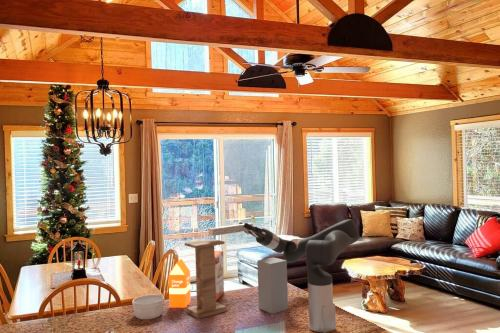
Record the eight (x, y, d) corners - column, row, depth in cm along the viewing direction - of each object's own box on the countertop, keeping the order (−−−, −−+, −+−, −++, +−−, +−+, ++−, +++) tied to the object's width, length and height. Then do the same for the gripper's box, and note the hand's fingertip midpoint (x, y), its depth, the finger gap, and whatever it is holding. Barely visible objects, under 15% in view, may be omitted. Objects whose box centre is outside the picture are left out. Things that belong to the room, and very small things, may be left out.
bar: (253, 229, 201) (252, 223, 201) (213, 235, 187) (212, 228, 187) (248, 229, 204) (248, 222, 204) (208, 235, 190) (208, 228, 190)
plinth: (288, 309, 188) (286, 260, 187) (271, 313, 182) (270, 263, 182) (274, 304, 195) (273, 257, 195) (258, 308, 190) (257, 260, 189)
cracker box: (217, 301, 201) (215, 256, 201) (204, 301, 202) (203, 256, 202) (225, 292, 215) (223, 250, 215) (213, 292, 216) (211, 250, 216)
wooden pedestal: (226, 311, 188) (224, 241, 187) (198, 318, 179) (195, 245, 179) (214, 305, 196) (212, 238, 196) (186, 312, 187) (184, 242, 187)
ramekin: (137, 323, 177) (136, 305, 177) (129, 313, 188) (128, 297, 188) (168, 316, 183) (168, 300, 183) (159, 308, 195) (158, 292, 195)
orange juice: (191, 301, 203) (189, 258, 203) (186, 307, 194) (184, 262, 194) (174, 301, 204) (173, 258, 204) (169, 307, 195) (167, 262, 195)
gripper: (274, 247, 201) (248, 233, 192) (255, 244, 213) (230, 230, 204) (280, 232, 204) (254, 217, 195) (261, 230, 215) (235, 216, 206)
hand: (242, 224), depth 199 cm, fingers closed on bar, 3 cm apart
